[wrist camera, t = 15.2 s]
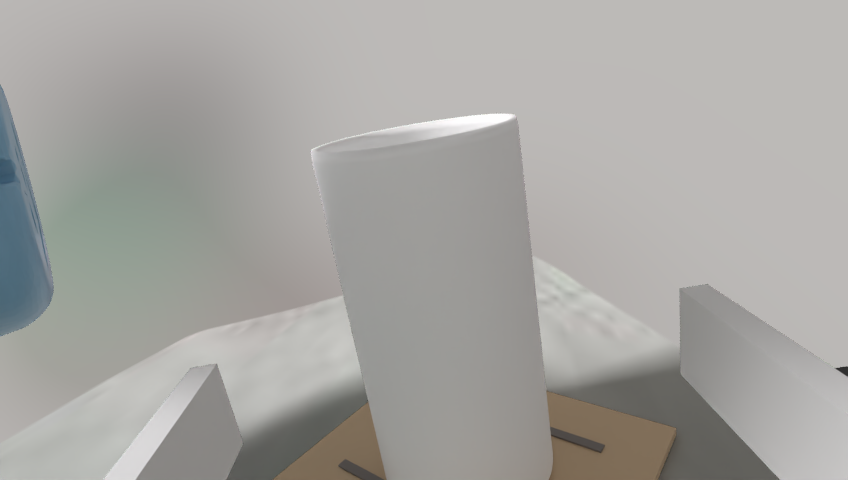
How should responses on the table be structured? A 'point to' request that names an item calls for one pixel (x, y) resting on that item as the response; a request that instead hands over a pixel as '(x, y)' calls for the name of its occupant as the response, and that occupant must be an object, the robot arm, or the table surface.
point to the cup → (441, 295)
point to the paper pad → (570, 434)
